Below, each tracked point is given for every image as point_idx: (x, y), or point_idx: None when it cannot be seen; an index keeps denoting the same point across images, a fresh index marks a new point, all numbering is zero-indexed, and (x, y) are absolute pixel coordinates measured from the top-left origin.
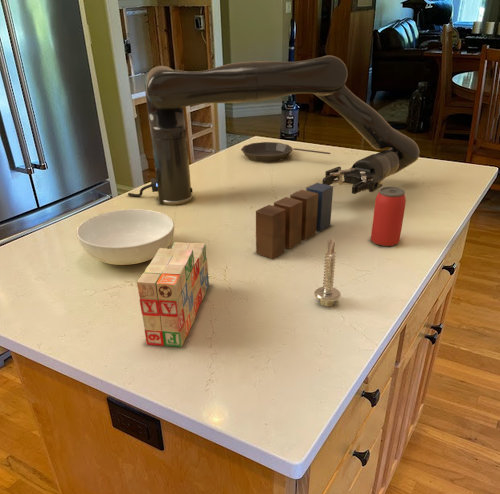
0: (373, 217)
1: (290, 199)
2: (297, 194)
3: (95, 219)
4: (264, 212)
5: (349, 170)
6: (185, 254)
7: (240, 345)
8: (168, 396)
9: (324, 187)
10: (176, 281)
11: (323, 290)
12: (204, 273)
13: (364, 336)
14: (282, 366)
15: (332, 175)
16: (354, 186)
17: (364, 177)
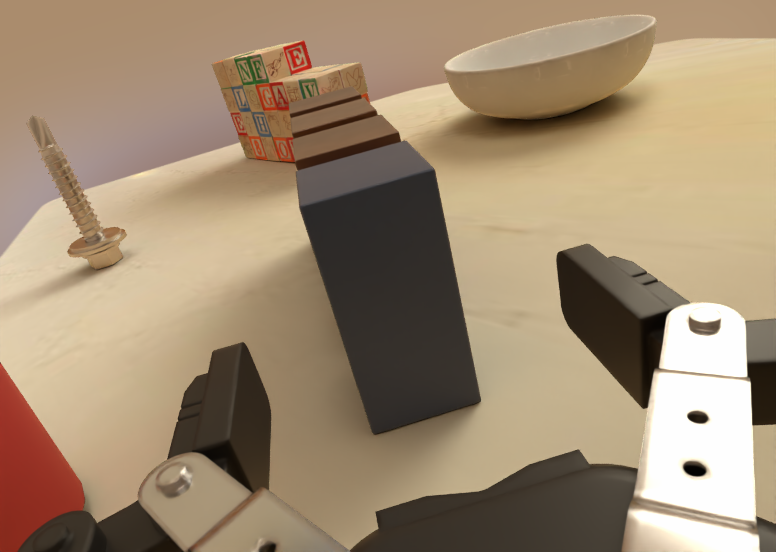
0: (15, 385)
1: (341, 116)
2: (361, 124)
3: (628, 22)
4: (323, 94)
5: (659, 499)
6: (257, 53)
7: (184, 187)
8: (200, 156)
9: (328, 179)
10: (215, 63)
11: (105, 234)
12: None
13: (8, 273)
14: (111, 207)
15: (635, 310)
16: (221, 350)
17: (216, 525)
